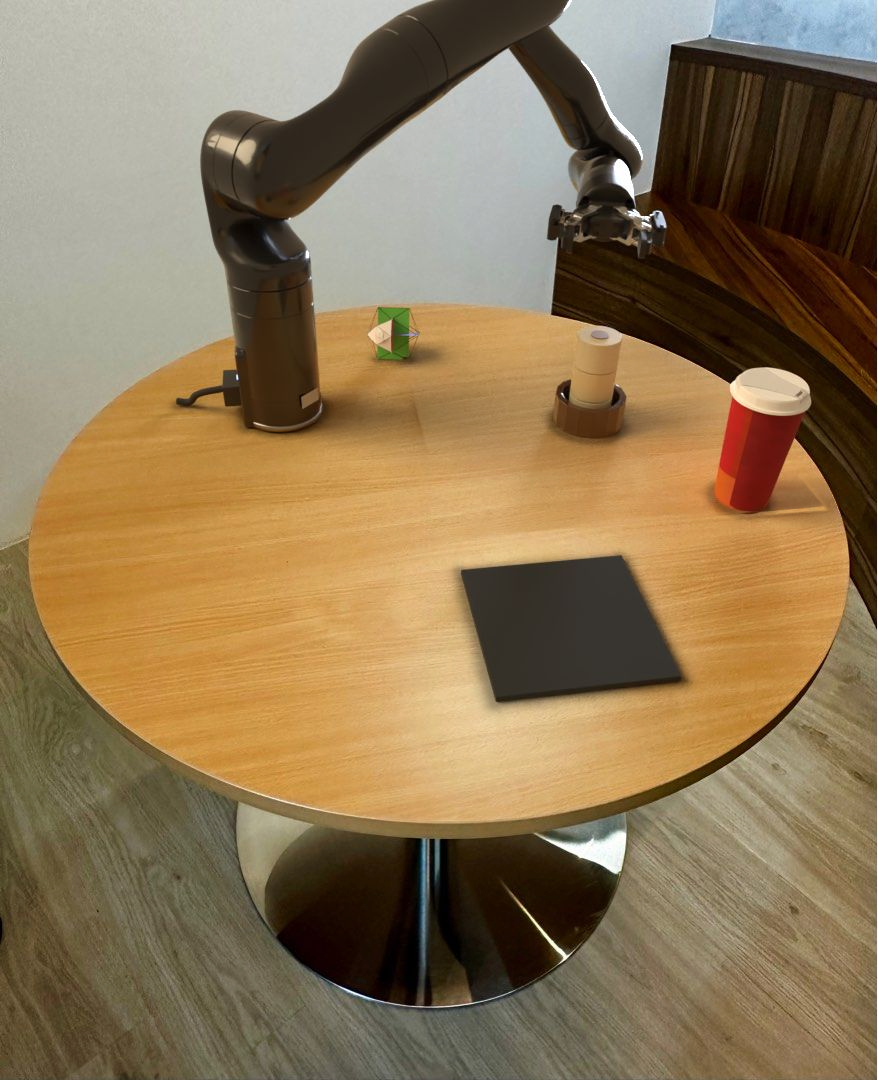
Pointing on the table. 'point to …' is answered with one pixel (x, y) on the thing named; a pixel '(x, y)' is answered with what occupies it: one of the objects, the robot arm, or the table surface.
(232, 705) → the table surface
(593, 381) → the tape stack
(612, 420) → the ring
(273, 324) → the robot arm
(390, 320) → the geometric puzzle
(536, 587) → the rubber mat
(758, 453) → the paper cup
